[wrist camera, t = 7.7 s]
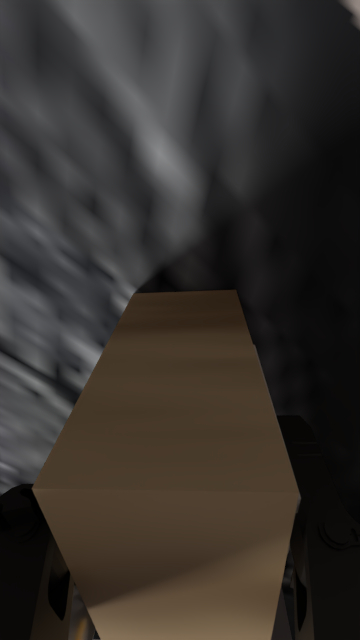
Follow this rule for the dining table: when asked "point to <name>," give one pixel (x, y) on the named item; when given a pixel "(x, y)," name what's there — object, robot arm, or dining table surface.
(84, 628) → the plastic bottle
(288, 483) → the tan wooden block
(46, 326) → the dining table surface
